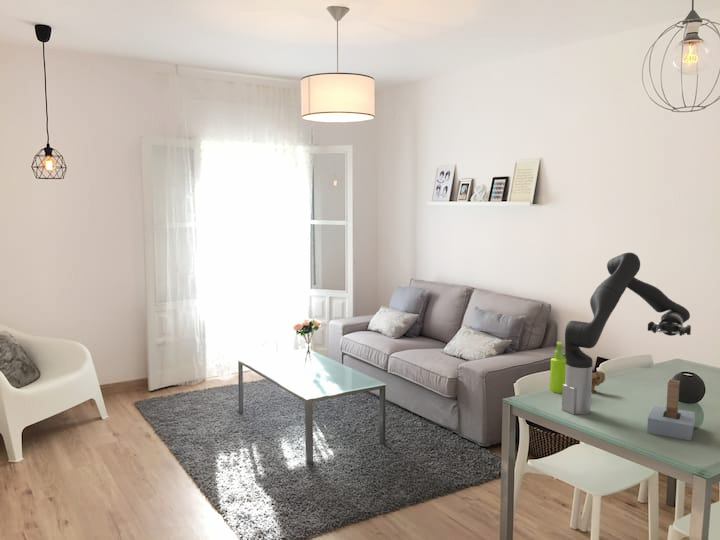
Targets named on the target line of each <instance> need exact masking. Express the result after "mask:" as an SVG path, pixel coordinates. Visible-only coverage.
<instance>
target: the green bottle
mask: <svg viewBox="0 0 720 540" xmlns="http://www.w3.org/2000/svg"><path fill="white" fill-rule="evenodd" d="M562 343H563V342H562V341H556V349H555V350H554V357H552V358H550V376H549V377H550V378H549V391H550V390H551V391H553V392H552V393H555V392H556V394H557V393H558V394H562V390H563V384H565V370H566V358H564V351H563V350H562ZM551 391H550V392H551Z"/></svg>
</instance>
